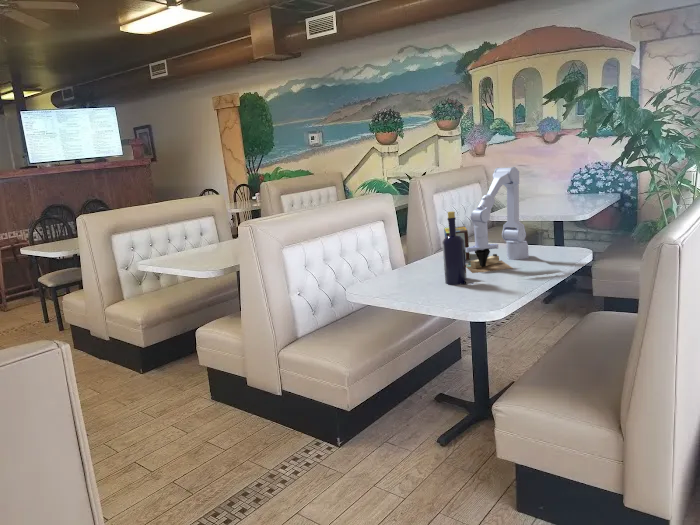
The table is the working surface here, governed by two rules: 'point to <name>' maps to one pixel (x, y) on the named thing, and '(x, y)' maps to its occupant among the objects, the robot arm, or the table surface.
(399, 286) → the table surface
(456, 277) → the bottle
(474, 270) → the stool board
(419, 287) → the table surface
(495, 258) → the leg
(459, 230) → the protein box
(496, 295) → the table surface
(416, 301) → the table surface
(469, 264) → the bar
